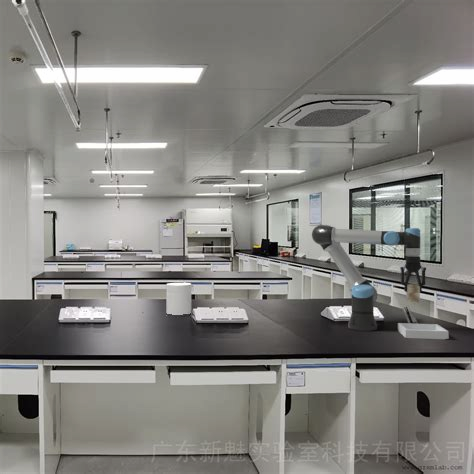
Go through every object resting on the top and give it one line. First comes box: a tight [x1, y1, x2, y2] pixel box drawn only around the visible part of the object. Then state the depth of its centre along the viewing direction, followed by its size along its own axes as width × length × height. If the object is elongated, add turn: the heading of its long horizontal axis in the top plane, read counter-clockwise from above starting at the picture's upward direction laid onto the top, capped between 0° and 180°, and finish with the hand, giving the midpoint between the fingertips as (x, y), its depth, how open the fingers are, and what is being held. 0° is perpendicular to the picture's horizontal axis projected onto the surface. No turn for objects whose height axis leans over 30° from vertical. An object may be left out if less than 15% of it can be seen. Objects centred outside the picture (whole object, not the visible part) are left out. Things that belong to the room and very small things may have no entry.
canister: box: [165, 282, 192, 315], centre depth 278 cm, size 16×16×20 cm
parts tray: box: [397, 322, 450, 340], centre depth 220 cm, size 20×18×4 cm
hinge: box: [402, 305, 419, 324], centre depth 258 cm, size 17×5×10 cm, turn 162°
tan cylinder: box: [406, 283, 420, 303], centre depth 238 cm, size 5×5×9 cm
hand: (413, 297), depth 238 cm, fingers closed on tan cylinder, 5 cm apart
